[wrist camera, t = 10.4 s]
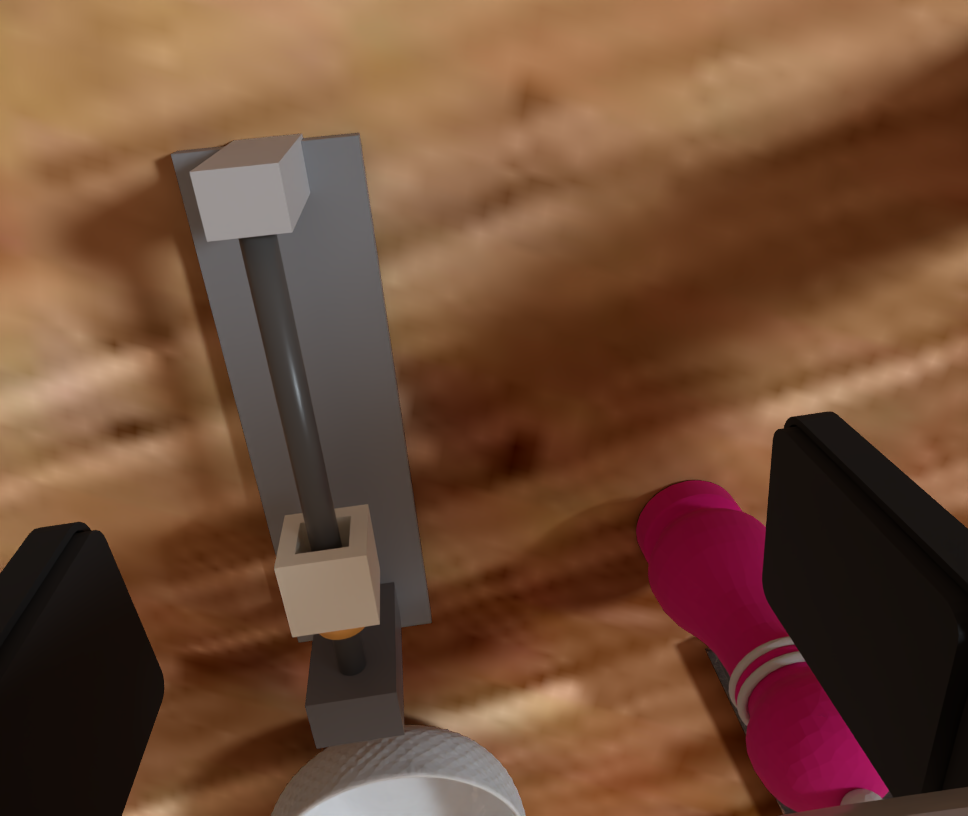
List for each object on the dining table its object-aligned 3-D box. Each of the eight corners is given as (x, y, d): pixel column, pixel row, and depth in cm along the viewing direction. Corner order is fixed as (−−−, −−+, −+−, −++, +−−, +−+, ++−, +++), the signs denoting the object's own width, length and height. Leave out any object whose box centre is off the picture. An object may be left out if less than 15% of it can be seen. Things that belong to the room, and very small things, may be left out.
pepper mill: (609, 558, 46) (751, 888, 28) (657, 459, 43) (849, 758, 25) (710, 579, 48) (905, 903, 30) (763, 485, 45) (1012, 782, 27)
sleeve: (368, 504, 36) (366, 555, 33) (380, 569, 38) (379, 624, 34) (284, 515, 36) (274, 568, 32) (300, 580, 38) (292, 637, 34)
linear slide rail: (358, 127, 33) (350, 158, 25) (430, 611, 46) (441, 736, 38) (175, 146, 33) (106, 184, 25) (300, 630, 46) (282, 761, 37)
